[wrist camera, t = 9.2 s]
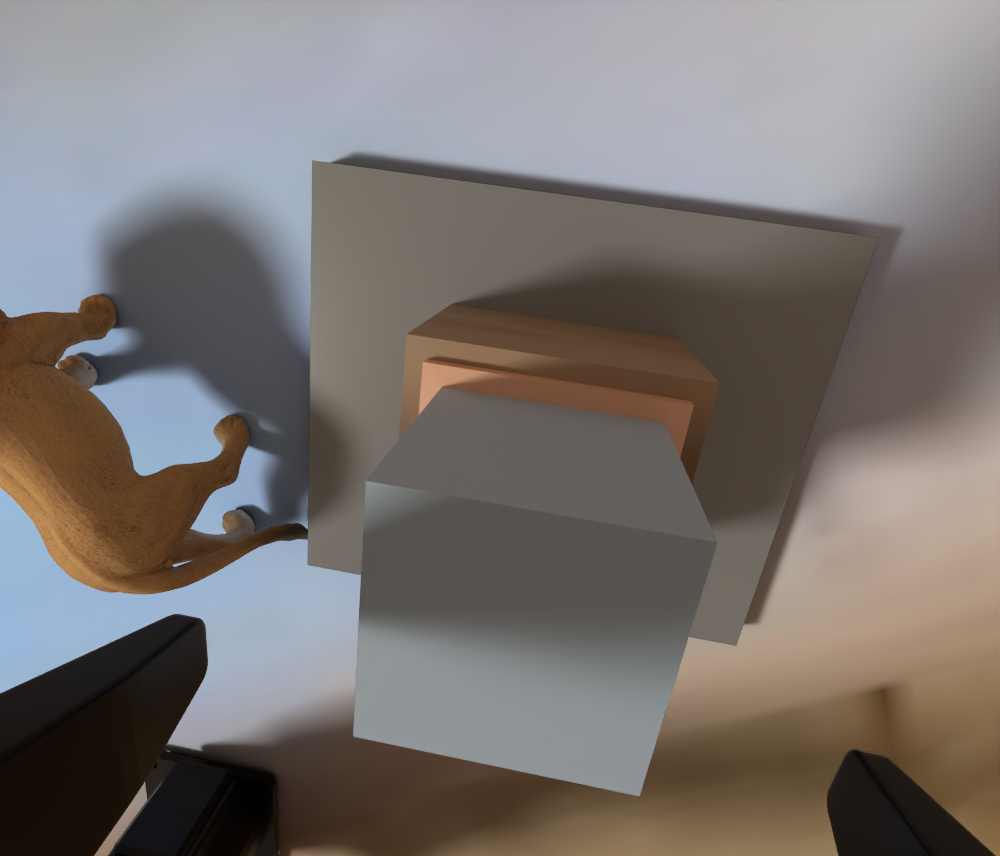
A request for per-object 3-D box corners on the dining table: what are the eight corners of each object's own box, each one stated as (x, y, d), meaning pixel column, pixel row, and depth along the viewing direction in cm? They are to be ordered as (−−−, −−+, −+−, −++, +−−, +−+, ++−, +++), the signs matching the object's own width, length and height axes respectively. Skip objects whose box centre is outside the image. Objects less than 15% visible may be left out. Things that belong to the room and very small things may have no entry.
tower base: (729, 627, 21) (787, 781, 15) (318, 550, 22) (227, 667, 17) (861, 236, 16) (1021, 245, 11) (326, 163, 18) (200, 134, 12)
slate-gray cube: (618, 608, 14) (639, 796, 10) (424, 572, 15) (352, 736, 10) (664, 422, 12) (717, 542, 8) (441, 386, 13) (365, 480, 8)
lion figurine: (-36, 334, 21) (-436, 409, 13) (11, 216, 19) (-418, 212, 11) (286, 568, 23) (121, 767, 15) (357, 479, 21) (215, 648, 13)
